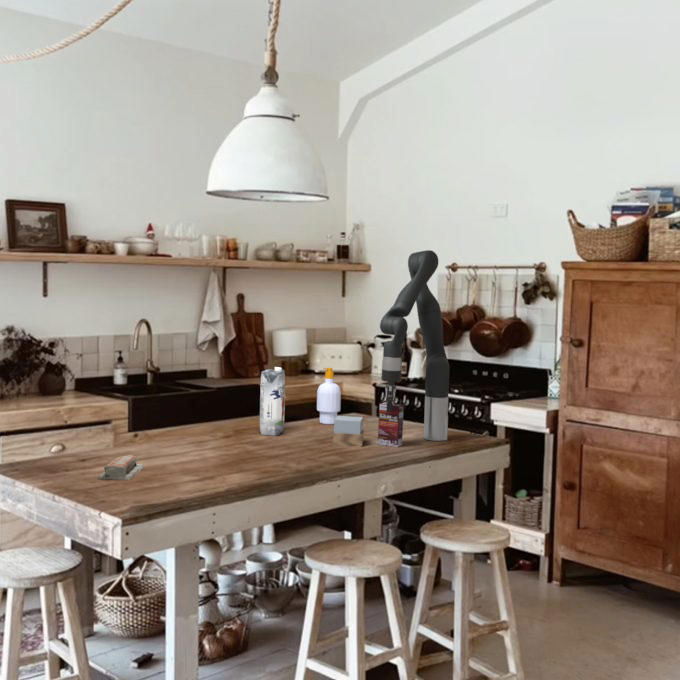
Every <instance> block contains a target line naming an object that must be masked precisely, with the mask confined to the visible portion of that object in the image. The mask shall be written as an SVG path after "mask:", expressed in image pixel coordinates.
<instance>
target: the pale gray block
mask: <svg viewBox="0 0 680 680" xmlns="http://www.w3.org/2000/svg"><path fill="white" fill-rule="evenodd" d="M363 428H364V417H363V416H350V415H349V416H348V415H347V416H346V415H337V417H336V418H335V420H334V424H333V433H342V434H361V432H362V430H363V431H364V429H363Z"/></svg>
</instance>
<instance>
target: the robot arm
mask: <svg viewBox="0 0 680 680" xmlns="http://www.w3.org/2000/svg"><path fill="white" fill-rule="evenodd" d="M407 260H408V261H407V267H408V273H409V276H410V281H409V282H408V283H407V284H406V285H405V286H404V287H403V288H402V289H401V291H400V292H399V294H398V295H397V298H396V299H395V302H394V304H393V305H392V306H391V307H390V308H389V309H388V310H387V312H385V314H384V315H383V317H382V319H381V320H380V323H379V328H380V331H381V333H382V334H385V335H391V336H393V338H392V340H388V341H385V342H384V344H383V353H382V361H381V362H382V363H381V378H380V379H381V381H382V382H387V384H386V385H385V398H386V400H385V401H386V402H385V403H387V413H392V408H393V404H394V400H395V397H396V391H397V385H395V384H396V383H400V382H401V381H402V367H403V362H402V359H403V357H402V354H403V353H402V352H403V345H404V342H405V338H406V335H407V332H408V328H409V326H408V321H407V319H406V317H408V316H409V315H410V313H412V310H413V308H414V306H415V304H416V311H417V318H418V324H419V328H420V332H421V336H422V338H423V341H424V345H425V356H426V359H425V362H426V363H425V382H424V383H425V385H424V386H425V387H424V391H425V392H424V418H423V420H424V421H423V439H424V440H427V441H432V442H433V441H435V442H436V441H437V442H439V441H440V442H441V441H448V429H449V427H448V425H449V415H448V413H449V392H450V391H449V390H450V389H449V387H450V364H449V361H448V358H447V354H446V350H445V346H444V329H443V327H444V326H443V317H442V310H441V306H440V303H439V301H438V300H437V298H436V297H435V296H434V295H433V293H432V291H431V290H430V287H429V286H428V282H429V281H430V280H431V278H432V276H433V275H434V274H435V272H436V271H437V269H438V267H439V257H438V255H437V253H436V252H435V251H433V250H429V249H428V250H422V251H415V252H413V253H411V254H410V255H409V256H408V259H407Z"/></svg>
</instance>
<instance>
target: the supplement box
mask: <svg viewBox="0 0 680 680" xmlns="http://www.w3.org/2000/svg"><path fill="white" fill-rule="evenodd" d="M378 405H379V406H378V427H377V428H378V431H377V445H378V444H379V446H386V445H387V446H386V447H395V448H398V446H399V447H402V446H403V433H404V432H403V429H404V408H405V407H404V406H405V405H404V404H400V403H393V408H392V413H387V402H381V403H379V404H378Z"/></svg>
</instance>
